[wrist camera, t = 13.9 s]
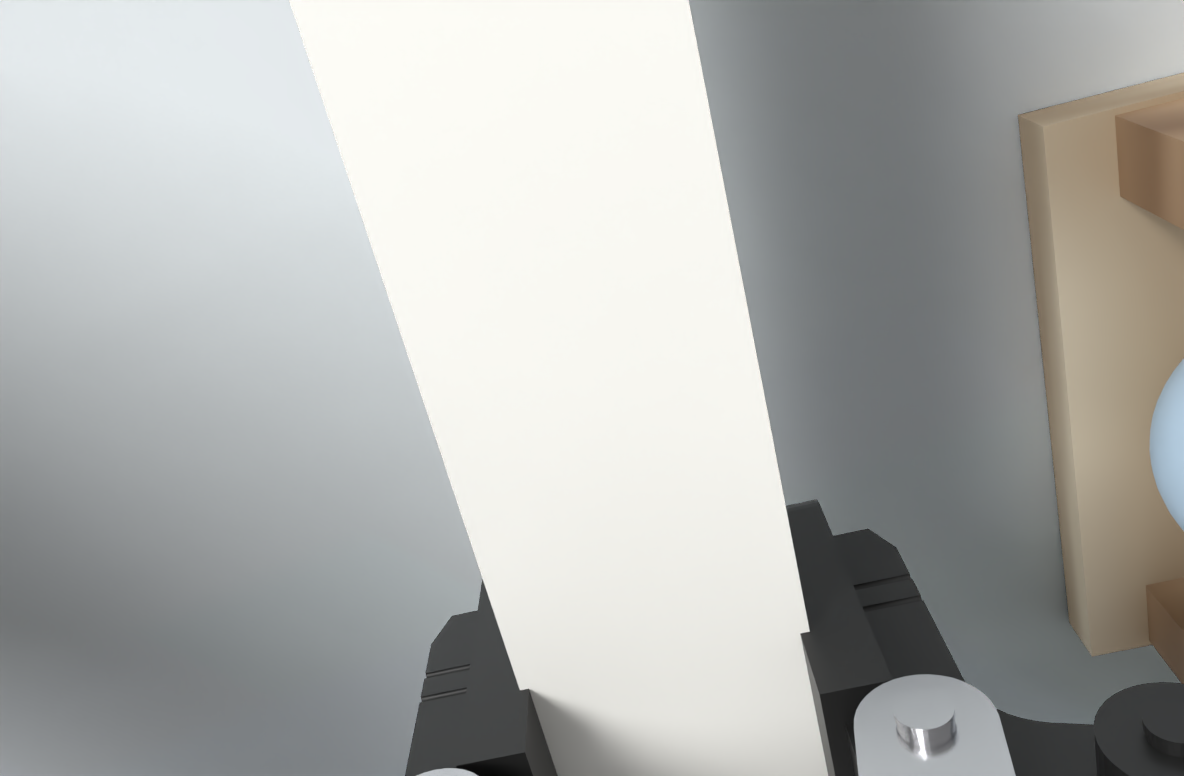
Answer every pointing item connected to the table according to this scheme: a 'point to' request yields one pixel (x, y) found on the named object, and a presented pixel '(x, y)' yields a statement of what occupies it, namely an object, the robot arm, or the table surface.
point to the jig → (1111, 349)
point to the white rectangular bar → (584, 364)
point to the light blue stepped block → (1170, 444)
